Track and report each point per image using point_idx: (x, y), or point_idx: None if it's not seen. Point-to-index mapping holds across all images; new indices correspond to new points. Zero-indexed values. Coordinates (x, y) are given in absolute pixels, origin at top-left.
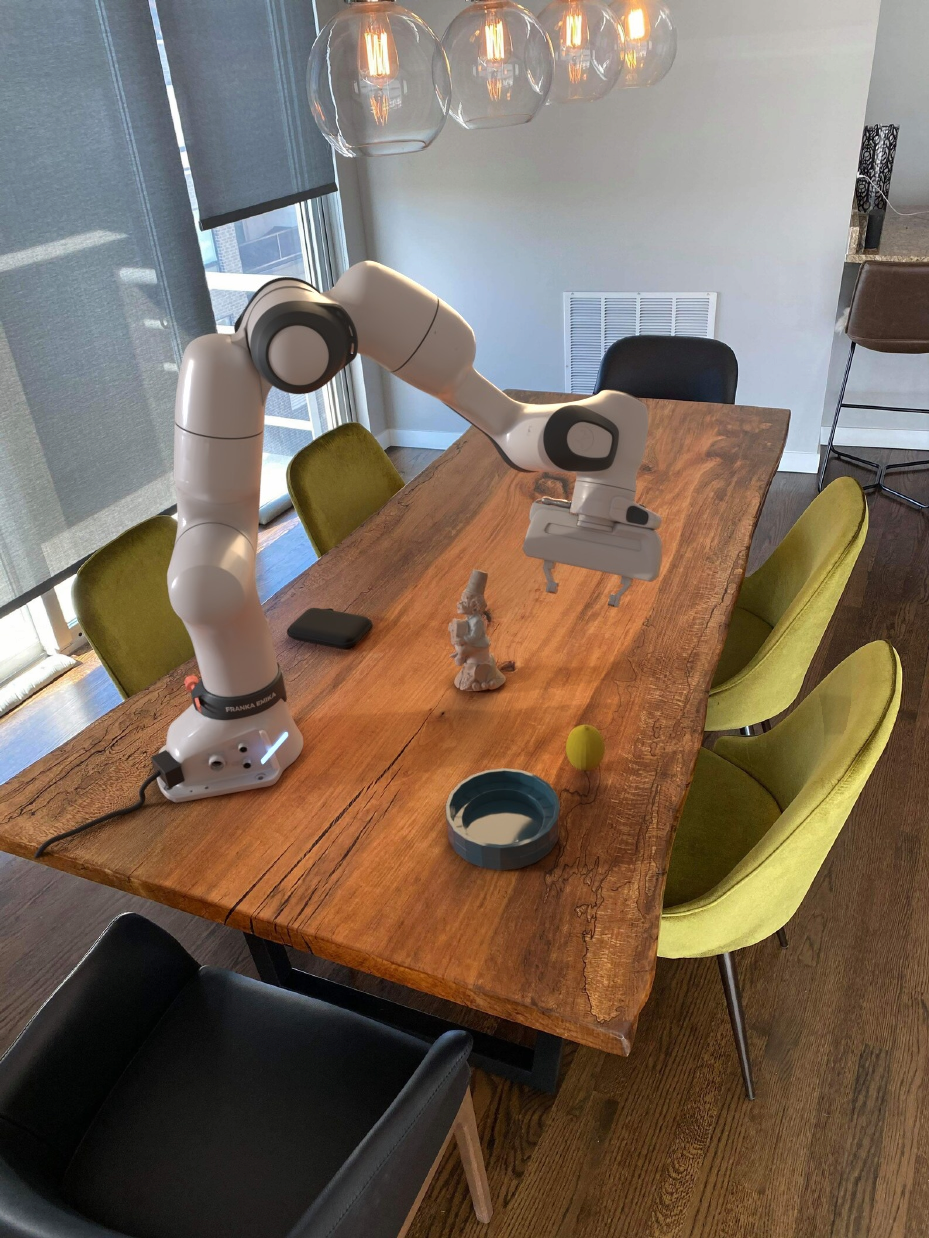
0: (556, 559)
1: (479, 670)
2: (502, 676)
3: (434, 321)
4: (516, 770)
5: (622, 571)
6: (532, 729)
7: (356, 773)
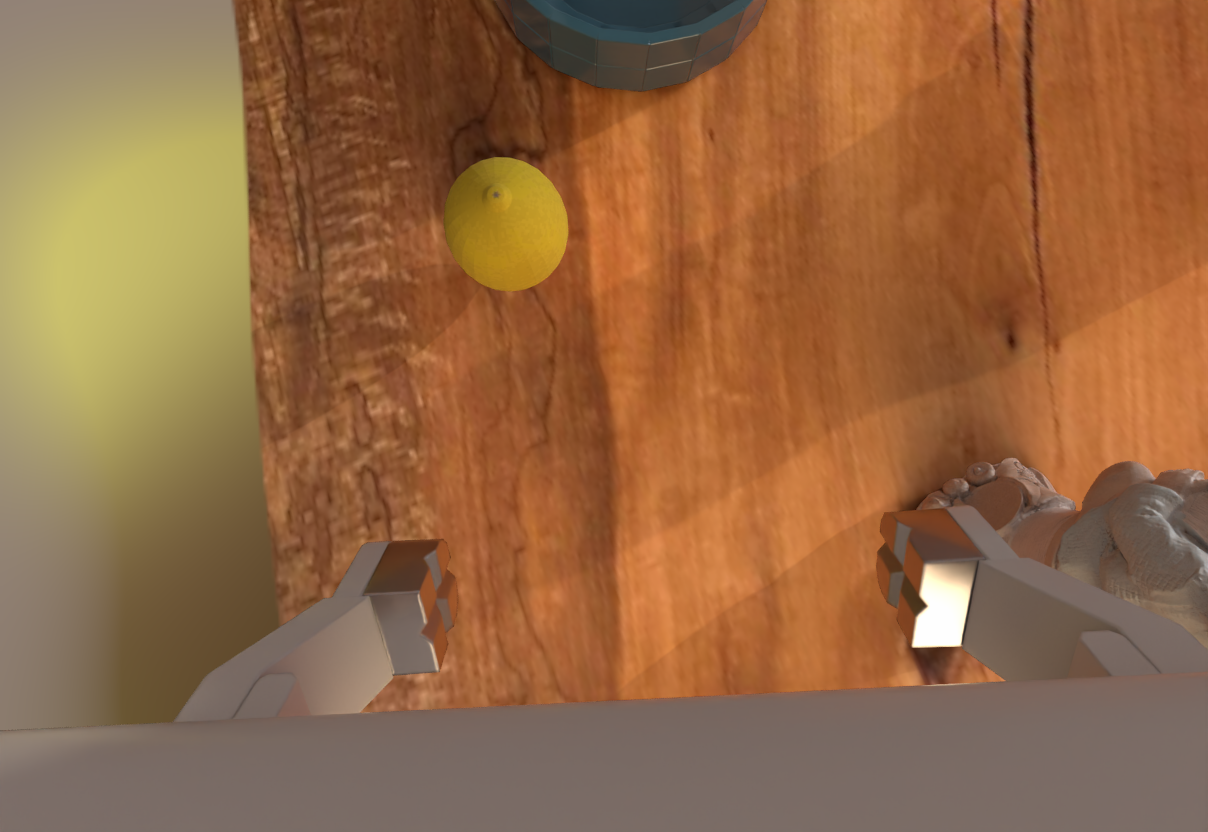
0: (1123, 692)
1: (1009, 498)
2: None
3: None
4: (661, 36)
5: (201, 752)
6: (725, 369)
7: (1097, 10)
